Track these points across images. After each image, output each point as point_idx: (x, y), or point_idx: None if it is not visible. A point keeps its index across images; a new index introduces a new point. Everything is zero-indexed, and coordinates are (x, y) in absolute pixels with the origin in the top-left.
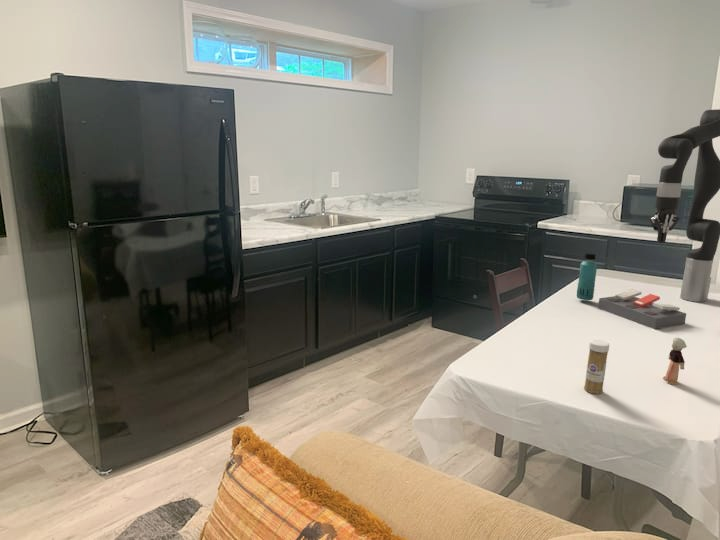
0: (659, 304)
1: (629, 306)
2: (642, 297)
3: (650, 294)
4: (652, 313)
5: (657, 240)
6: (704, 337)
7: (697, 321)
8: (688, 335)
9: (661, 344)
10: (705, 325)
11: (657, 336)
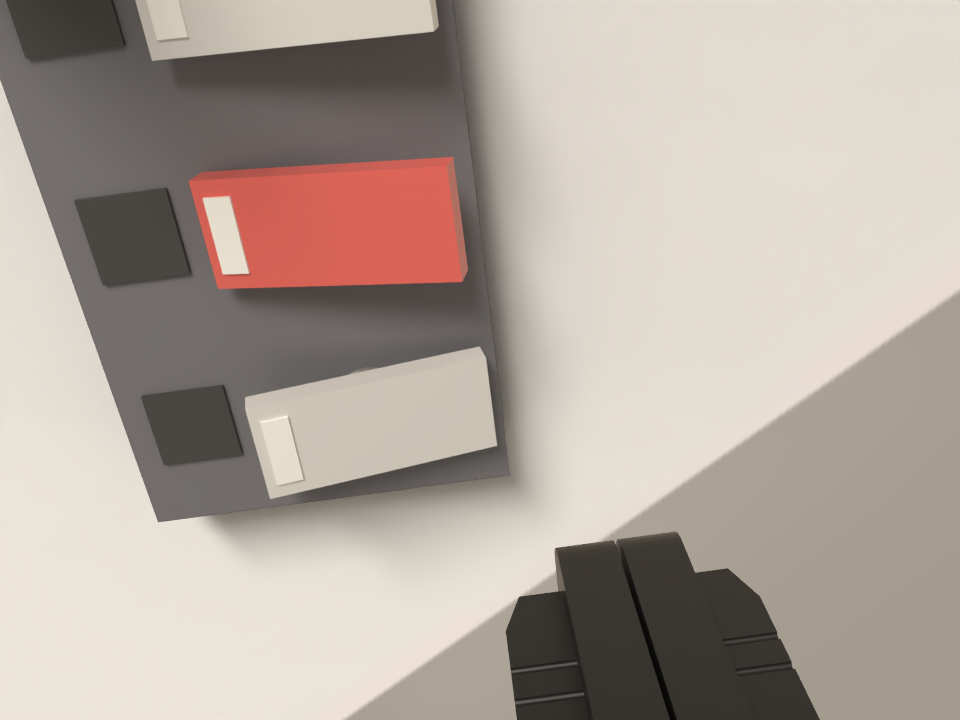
0: (275, 455)
1: (107, 234)
2: (325, 173)
3: (435, 178)
4: (198, 440)
5: (516, 609)
6: (410, 625)
7: (657, 395)
8: (335, 587)
9: (37, 665)
10: (630, 470)
11: (103, 569)
